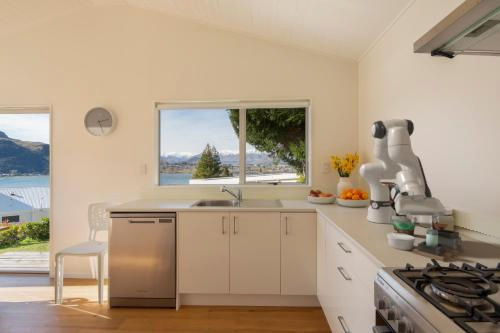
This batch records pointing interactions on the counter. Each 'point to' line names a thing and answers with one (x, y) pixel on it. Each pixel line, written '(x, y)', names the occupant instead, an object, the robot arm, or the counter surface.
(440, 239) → the dock station
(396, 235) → the ramekin
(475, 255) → the counter surface
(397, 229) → the food container
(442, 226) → the coffee cup
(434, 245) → the teal cylinder
